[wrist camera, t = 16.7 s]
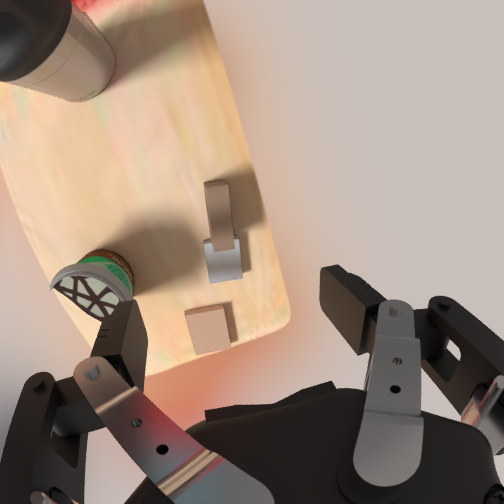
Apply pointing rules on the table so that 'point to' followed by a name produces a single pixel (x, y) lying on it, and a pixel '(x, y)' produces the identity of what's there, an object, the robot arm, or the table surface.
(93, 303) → the food container
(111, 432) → the robot arm
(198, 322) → the tile
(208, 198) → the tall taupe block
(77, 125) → the table surface
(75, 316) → the table surface
